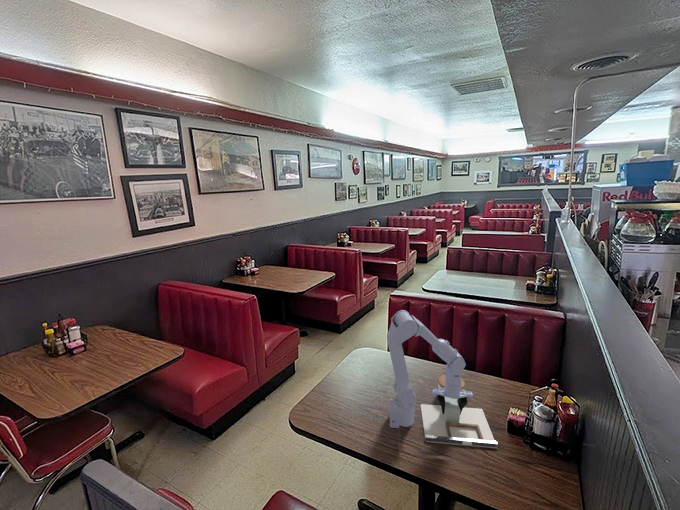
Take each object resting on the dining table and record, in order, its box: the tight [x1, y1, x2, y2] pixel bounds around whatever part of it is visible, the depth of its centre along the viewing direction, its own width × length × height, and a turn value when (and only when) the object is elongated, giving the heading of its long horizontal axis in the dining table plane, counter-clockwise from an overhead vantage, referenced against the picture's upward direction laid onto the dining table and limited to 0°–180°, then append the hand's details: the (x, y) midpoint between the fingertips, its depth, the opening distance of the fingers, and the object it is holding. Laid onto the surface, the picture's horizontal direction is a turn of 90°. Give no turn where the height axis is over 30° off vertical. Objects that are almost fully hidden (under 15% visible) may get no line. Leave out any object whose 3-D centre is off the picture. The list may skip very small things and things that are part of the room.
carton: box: [444, 396, 460, 423], centre depth 129 cm, size 5×8×6 cm, turn 172°
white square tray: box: [420, 403, 499, 449], centre depth 125 cm, size 24×20×2 cm
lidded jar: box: [437, 373, 466, 401], centre depth 141 cm, size 11×11×9 cm
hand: (450, 412), depth 129 cm, fingers closed on carton, 5 cm apart
